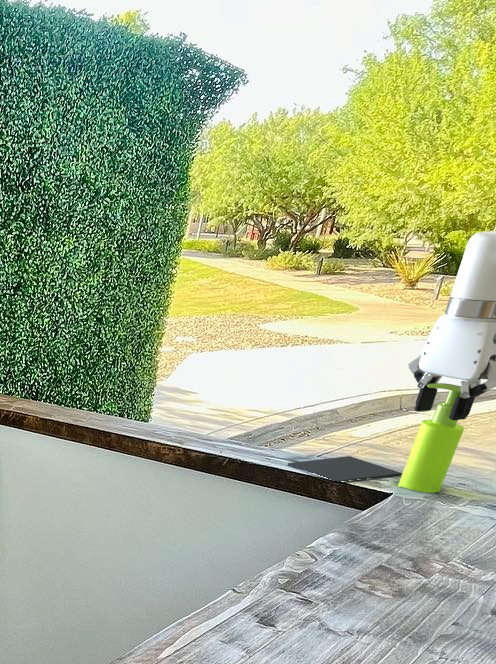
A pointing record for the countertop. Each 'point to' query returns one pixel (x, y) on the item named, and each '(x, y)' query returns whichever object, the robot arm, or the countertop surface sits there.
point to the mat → (344, 468)
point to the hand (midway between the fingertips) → (439, 413)
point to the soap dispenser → (433, 446)
